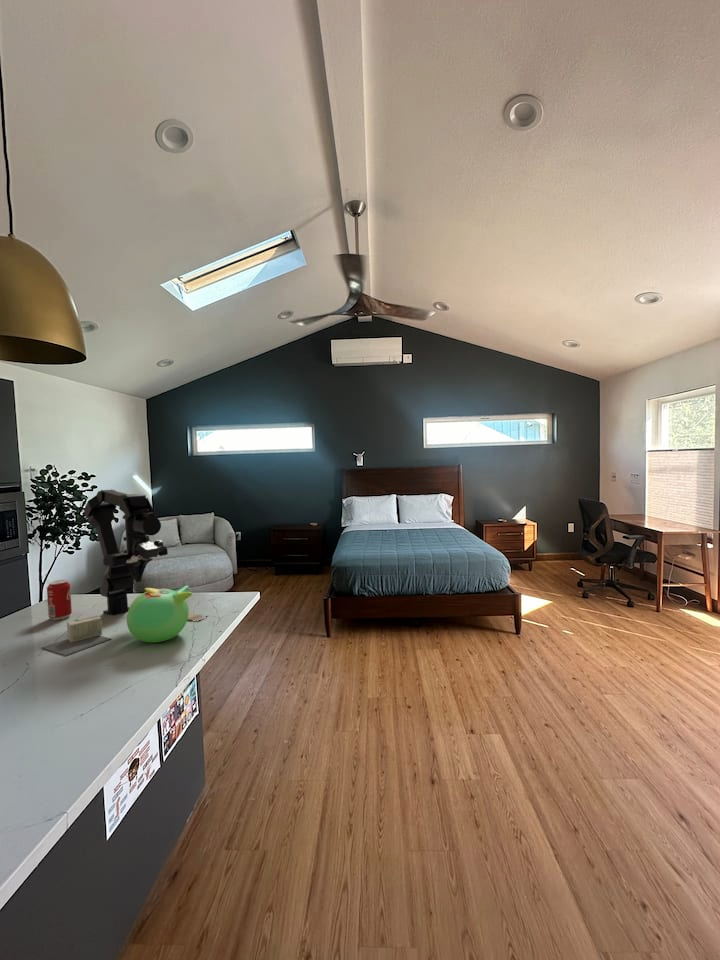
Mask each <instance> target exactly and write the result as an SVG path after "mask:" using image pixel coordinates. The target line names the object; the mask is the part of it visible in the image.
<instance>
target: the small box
mask: <svg viewBox="0 0 720 960" xmlns="http://www.w3.org/2000/svg"><path fill="white" fill-rule="evenodd" d="M102 628H103V627H102V618H101V617H100V616H99V615H98V614H97V615H94V616H90V617H89V616H88V617H84V618H79V619H76V620H72V621H67V622H66V629H67V639H68V640H69V641H70V642H71V643H72V642H76V641H80V640H84V639H88V638H92V637H95V636H99V635H100V636H103V629H102Z"/></svg>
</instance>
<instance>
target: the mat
mask: <svg viewBox="0 0 720 960" xmlns="http://www.w3.org/2000/svg"><path fill="white" fill-rule="evenodd" d="M111 640H112V638H111V637H107V636H104V635H99V636H95V637H92V638H88V639H84V640H80V641H76V642H72V643H71V642H70V641H69V640H68V638H65V639H62V640H59V641H57V642H56V641H55V642H53V643H50V644H48V645H44V646H41V649H42V650H46V651H47V652H48V651H49V652H51V653H54V652H55V654H58V655H61V656H65V657H67V656H70V655H74V654H76V653H79V652H81V651H85V650H86V649H90V648H93V647H95V646H98V645H100V644H103V643H106V642H109V641H111Z"/></svg>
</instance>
